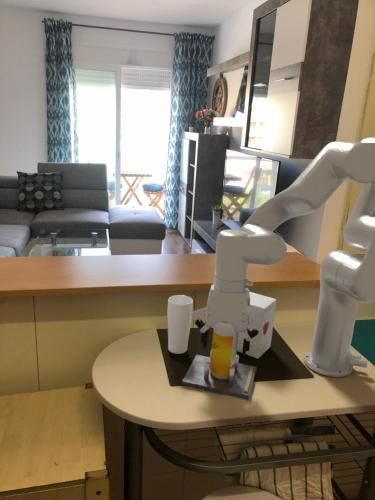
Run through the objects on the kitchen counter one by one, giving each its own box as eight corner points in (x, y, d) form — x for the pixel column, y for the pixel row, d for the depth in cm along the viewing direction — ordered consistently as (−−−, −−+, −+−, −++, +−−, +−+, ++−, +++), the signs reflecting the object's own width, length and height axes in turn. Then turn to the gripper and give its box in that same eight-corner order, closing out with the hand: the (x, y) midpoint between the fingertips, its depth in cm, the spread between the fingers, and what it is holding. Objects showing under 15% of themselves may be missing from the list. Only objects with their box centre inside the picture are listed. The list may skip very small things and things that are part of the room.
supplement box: (258, 359, 113) (264, 308, 109) (229, 349, 118) (233, 299, 114) (271, 346, 121) (277, 298, 116) (243, 337, 125) (248, 290, 121)
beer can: (215, 364, 108) (219, 310, 103) (237, 371, 105) (243, 316, 101) (205, 375, 102) (210, 319, 98) (229, 383, 100) (234, 326, 96)
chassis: (256, 370, 108) (258, 352, 106) (248, 400, 96) (251, 380, 94) (196, 358, 112) (197, 341, 110) (182, 385, 100) (183, 366, 98)
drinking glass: (193, 347, 117) (197, 298, 113) (183, 358, 111) (186, 306, 107) (172, 341, 120) (174, 292, 116) (160, 352, 114) (163, 301, 110)
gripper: (269, 283, 98) (262, 348, 103) (198, 273, 103) (194, 336, 107) (265, 294, 91) (258, 363, 96) (189, 283, 96) (186, 350, 100)
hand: (224, 349), depth 102 cm, fingers open, 9 cm apart
